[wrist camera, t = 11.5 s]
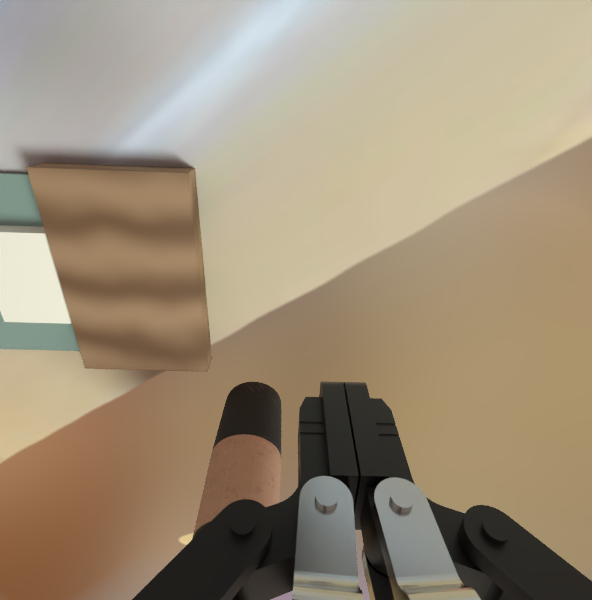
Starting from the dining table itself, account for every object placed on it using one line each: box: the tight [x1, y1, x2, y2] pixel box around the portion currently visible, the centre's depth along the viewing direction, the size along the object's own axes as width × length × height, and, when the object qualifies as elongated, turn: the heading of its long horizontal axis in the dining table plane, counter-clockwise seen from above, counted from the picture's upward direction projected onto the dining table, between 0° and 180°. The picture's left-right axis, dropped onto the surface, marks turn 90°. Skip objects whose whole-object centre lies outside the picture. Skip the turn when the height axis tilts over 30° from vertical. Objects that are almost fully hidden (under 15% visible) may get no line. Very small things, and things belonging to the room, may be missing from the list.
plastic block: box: [0, 225, 72, 324], centre depth 38 cm, size 10×7×2 cm
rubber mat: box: [0, 173, 80, 351], centre depth 39 cm, size 20×13×1 cm, turn 178°
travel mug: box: [192, 382, 281, 540], centre depth 40 cm, size 8×8×20 cm
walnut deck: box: [26, 163, 212, 371], centre depth 39 cm, size 22×14×2 cm, turn 178°
